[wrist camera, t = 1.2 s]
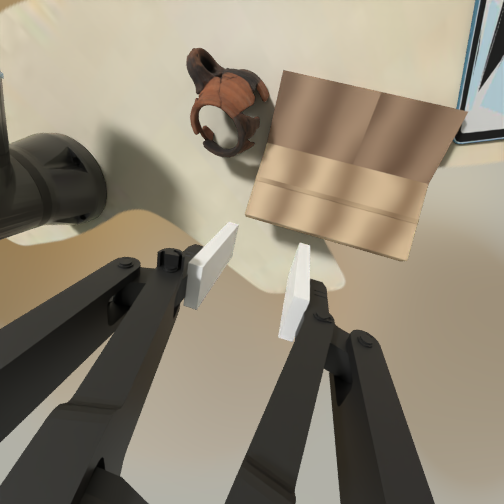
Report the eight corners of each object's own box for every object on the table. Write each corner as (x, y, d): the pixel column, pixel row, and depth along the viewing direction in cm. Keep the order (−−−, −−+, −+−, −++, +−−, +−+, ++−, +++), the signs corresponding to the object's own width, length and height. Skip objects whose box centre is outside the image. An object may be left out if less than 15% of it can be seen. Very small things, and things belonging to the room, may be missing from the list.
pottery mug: (288, 110, 32) (265, 142, 28) (243, 144, 39) (219, 174, 35) (227, 12, 27) (186, 34, 23) (187, 72, 34) (150, 97, 30)
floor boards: (268, 142, 34) (267, 142, 32) (284, 73, 30) (283, 70, 29) (423, 182, 32) (428, 184, 30) (460, 113, 28) (468, 111, 27)
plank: (246, 216, 33) (244, 213, 32) (267, 148, 34) (267, 142, 32) (400, 261, 31) (407, 260, 30) (420, 188, 32) (428, 183, 30)
